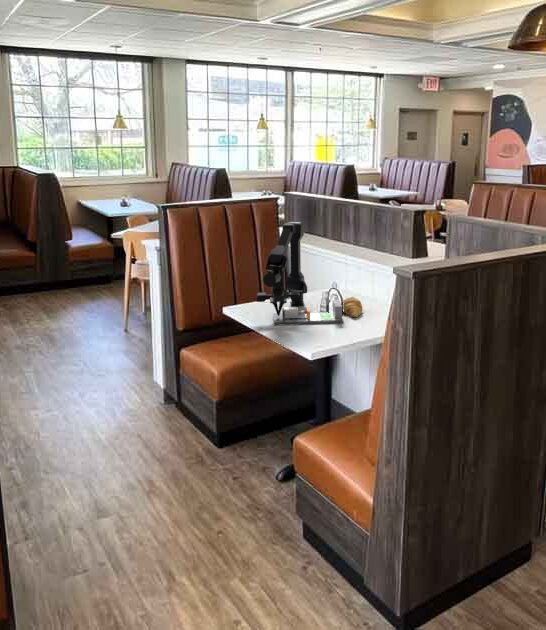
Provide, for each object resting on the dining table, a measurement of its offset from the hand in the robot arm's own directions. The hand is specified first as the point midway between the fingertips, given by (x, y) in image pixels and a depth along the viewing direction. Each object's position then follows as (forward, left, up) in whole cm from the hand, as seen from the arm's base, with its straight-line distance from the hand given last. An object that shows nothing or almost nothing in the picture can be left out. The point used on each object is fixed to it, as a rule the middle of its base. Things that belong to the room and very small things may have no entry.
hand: (278, 315), depth 276 cm
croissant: (-10, +33, -3) cm, 35 cm away
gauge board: (0, +13, -2) cm, 13 cm away
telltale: (0, +13, 0) cm, 13 cm away
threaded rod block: (0, +7, -1) cm, 7 cm away
